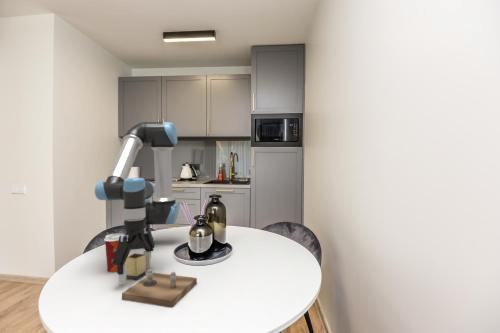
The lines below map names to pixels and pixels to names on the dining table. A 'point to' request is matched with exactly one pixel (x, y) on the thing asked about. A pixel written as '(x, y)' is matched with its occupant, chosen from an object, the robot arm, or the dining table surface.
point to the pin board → (160, 289)
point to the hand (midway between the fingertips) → (135, 274)
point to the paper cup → (111, 250)
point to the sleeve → (135, 266)
